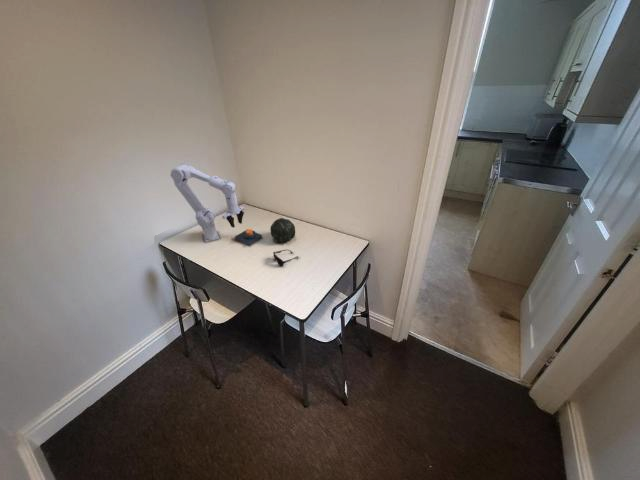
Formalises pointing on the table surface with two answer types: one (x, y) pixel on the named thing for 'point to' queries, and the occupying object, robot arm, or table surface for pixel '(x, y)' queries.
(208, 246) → the table surface
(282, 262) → the sunglasses
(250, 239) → the dark blue button base
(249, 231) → the orange button
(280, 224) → the squash
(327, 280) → the table surface
